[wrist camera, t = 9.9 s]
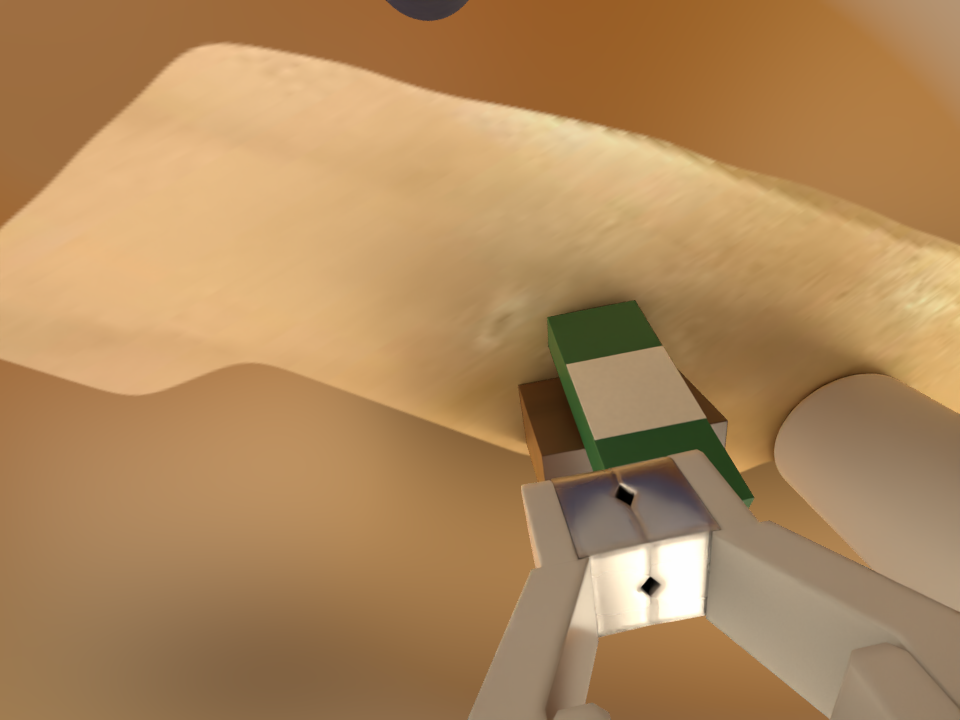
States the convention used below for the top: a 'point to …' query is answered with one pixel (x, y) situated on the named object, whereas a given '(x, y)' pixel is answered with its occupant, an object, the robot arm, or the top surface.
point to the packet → (630, 392)
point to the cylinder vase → (882, 477)
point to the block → (573, 428)
